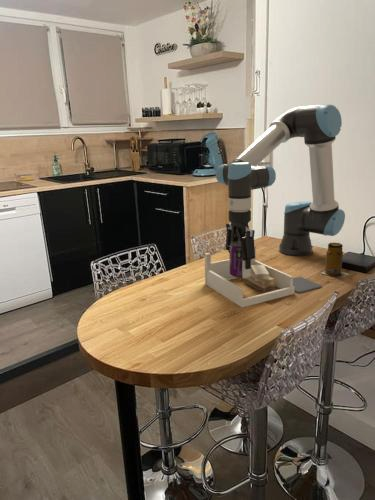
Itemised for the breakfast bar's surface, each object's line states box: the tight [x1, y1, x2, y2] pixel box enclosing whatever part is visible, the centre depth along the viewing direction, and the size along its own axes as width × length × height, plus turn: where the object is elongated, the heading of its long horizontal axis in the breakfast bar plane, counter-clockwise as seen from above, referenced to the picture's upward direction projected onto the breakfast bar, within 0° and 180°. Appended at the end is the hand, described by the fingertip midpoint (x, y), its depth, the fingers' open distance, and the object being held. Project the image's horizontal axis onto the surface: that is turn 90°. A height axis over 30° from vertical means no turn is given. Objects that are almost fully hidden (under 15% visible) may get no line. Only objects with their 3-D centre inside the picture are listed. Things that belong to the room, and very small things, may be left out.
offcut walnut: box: [242, 278, 276, 294], centre depth 141 cm, size 5×12×2 cm, turn 29°
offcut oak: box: [245, 271, 274, 288], centre depth 140 cm, size 5×11×2 cm, turn 26°
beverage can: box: [229, 240, 244, 279], centre depth 134 cm, size 7×7×12 cm
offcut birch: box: [251, 265, 269, 281], centre depth 139 cm, size 5×10×2 cm, turn 0°
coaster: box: [293, 276, 323, 294], centre depth 140 cm, size 11×11×1 cm
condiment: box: [320, 242, 350, 279], centre depth 149 cm, size 7×8×12 cm
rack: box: [204, 244, 295, 308], centre depth 137 cm, size 22×24×12 cm
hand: (239, 273), depth 135 cm, fingers closed on beverage can, 7 cm apart
